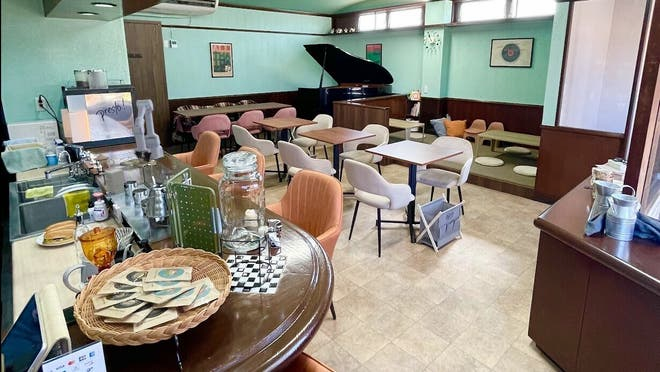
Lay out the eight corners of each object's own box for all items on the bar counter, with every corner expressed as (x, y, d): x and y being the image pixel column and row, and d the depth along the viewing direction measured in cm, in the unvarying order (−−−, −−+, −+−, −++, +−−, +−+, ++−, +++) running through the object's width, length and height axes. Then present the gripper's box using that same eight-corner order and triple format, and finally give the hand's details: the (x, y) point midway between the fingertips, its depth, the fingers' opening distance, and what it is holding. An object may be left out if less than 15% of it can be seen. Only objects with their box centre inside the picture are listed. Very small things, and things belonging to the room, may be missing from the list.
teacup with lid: (96, 173, 275) (92, 156, 271) (97, 170, 282) (93, 153, 279) (116, 170, 279) (112, 153, 276) (116, 167, 287) (112, 151, 284)
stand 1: (134, 160, 303) (133, 158, 303) (143, 161, 299) (143, 159, 299) (120, 164, 293) (119, 162, 293) (129, 165, 289) (129, 163, 288)
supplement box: (121, 188, 237) (116, 168, 233) (128, 190, 233) (123, 169, 229) (108, 192, 231) (103, 171, 227) (115, 194, 227) (110, 173, 223)
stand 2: (147, 162, 297) (146, 160, 297) (156, 163, 293) (156, 160, 293) (133, 166, 287) (132, 164, 287) (143, 167, 283) (142, 165, 282)
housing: (146, 161, 294) (145, 155, 292) (150, 161, 292) (149, 155, 290) (138, 163, 288) (137, 157, 286) (142, 164, 286) (141, 157, 284)
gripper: (129, 143, 285) (132, 162, 289) (143, 144, 279) (147, 163, 283) (137, 141, 291) (141, 159, 295) (151, 142, 285) (155, 161, 289)
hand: (144, 161), depth 289 cm, fingers open, 7 cm apart
